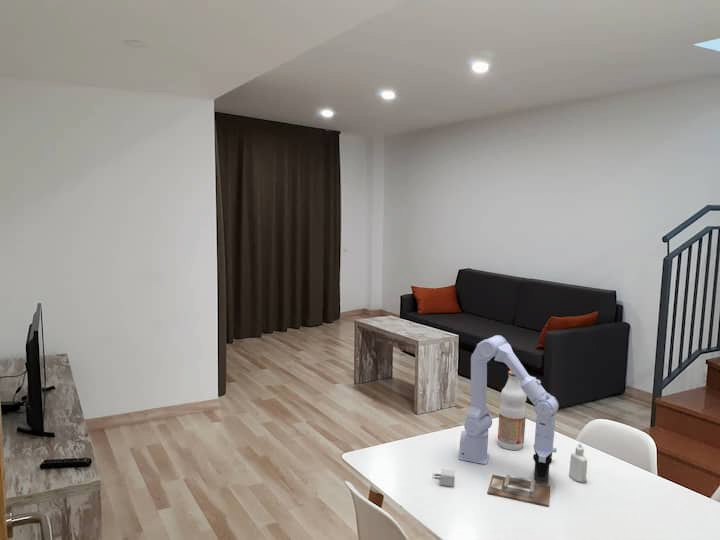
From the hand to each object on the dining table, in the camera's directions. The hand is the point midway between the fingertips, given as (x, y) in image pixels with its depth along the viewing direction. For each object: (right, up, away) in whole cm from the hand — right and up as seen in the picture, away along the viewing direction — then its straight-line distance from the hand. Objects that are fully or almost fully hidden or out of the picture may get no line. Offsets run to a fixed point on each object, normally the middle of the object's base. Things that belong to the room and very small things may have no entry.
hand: (541, 474), depth 178 cm
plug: (0, -2, 0) cm, 2 cm away
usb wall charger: (-32, -2, -3) cm, 33 cm away
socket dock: (-9, -3, -7) cm, 12 cm away
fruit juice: (-3, +1, +26) cm, 26 cm away
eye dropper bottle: (+12, -2, +2) cm, 13 cm away
